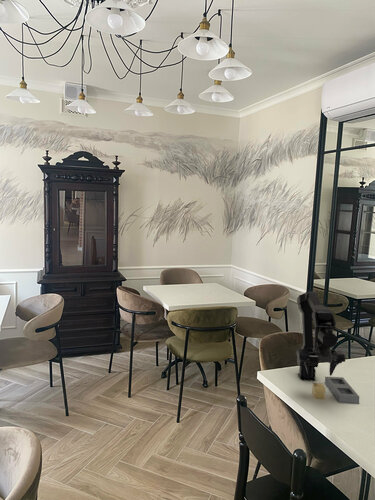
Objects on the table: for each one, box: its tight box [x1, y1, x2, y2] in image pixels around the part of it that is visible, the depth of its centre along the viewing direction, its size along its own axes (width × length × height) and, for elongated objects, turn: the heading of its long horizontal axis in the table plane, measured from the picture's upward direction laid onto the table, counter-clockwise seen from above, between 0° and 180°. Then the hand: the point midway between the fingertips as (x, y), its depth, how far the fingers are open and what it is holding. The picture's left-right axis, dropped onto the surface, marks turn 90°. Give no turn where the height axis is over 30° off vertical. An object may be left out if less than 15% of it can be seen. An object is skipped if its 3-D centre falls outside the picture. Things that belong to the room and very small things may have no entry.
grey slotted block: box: [324, 376, 360, 405], centre depth 154 cm, size 8×18×3 cm, turn 176°
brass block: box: [311, 382, 326, 400], centre depth 150 cm, size 4×4×5 cm
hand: (319, 374), depth 150 cm, fingers open, 9 cm apart
